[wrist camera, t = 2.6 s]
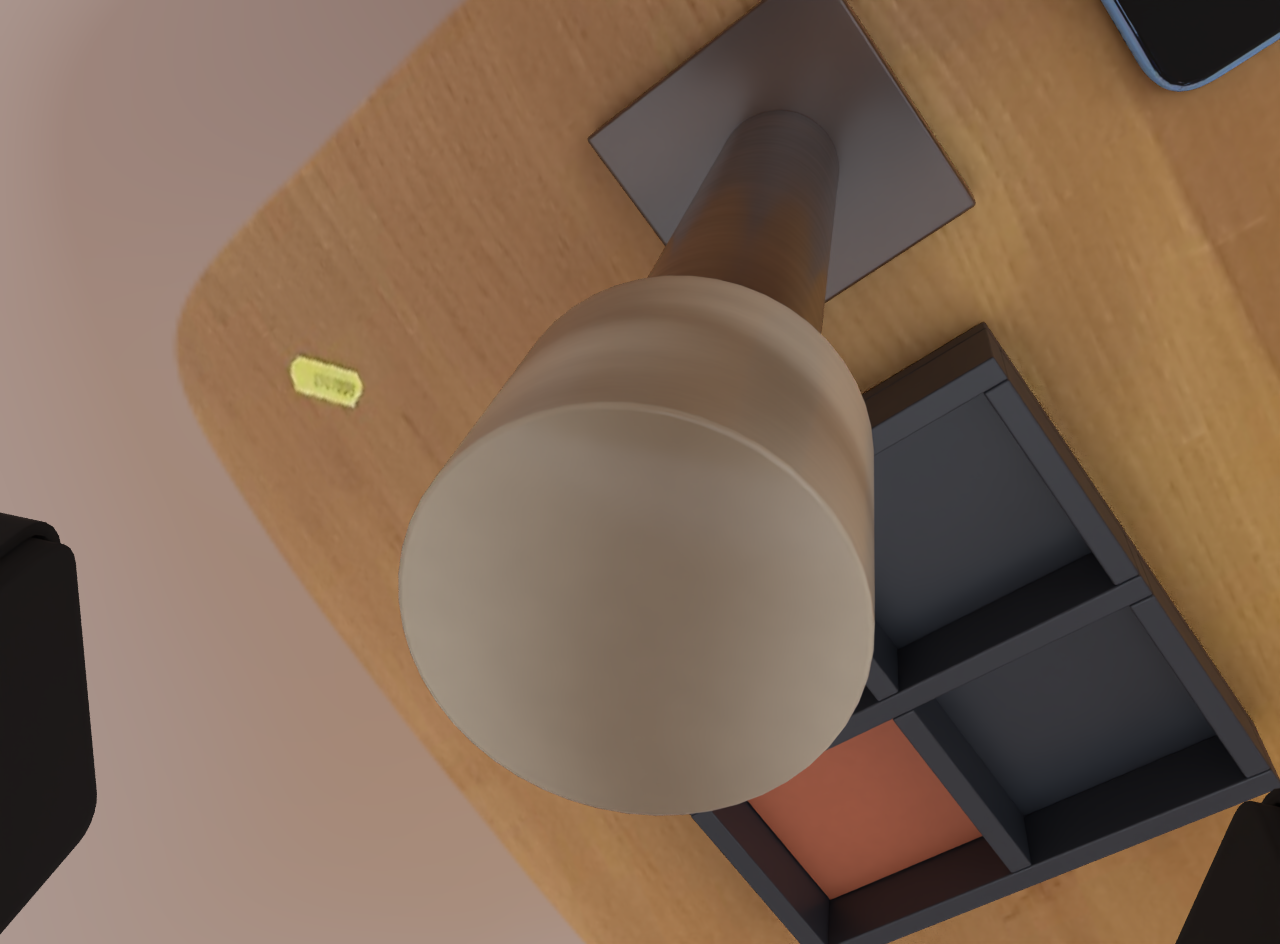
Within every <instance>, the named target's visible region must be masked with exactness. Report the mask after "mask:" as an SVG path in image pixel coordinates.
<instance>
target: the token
mask: <svg viewBox="0 0 1280 944" xmlns="http://www.w3.org/2000/svg"><path fill="white" fill-rule="evenodd" d="M398 574H399V605H400V612H401V618H402V625H403V629H404V633H405V636H406V639H407V643H408V646H409V649H410V653H411V655H412V657H413V660H414V662H415V664H416V666H417V669H418V671H419V673H420V675H421V677H422V679H423V681H424V682H425V684H426V686H427V687H428V689H429V691H430V692H431V694H432V696H433V697H434V699H435V701H436V702H437V703H438V704H439V706H440V707H441V708H442V710H443V711H444V712H445V713H446V715H447V716H448V717H449V719H450V720H451V721H452V722H453V723H454V724H455V725H456V726H457V728H458V729H459V730H460V731H461V732H462V733H463V734H464V735H465V736H466V737H467V738H468V739H469V740H470V741H471V742H472V743H473V744H475V745H476V746H477V747H478V748H479V749H481V750H482V751H483V752H484V753H486V754H487V755H488V756H489V757H490V758H492V759H493V760H494V761H496V762H497V763H499V764H500V765H502V766H503V767H505V768H506V769H508V770H509V771H511V772H512V773H514V774H515V775H517V776H519V777H520V778H522V779H524V780H526V781H528V782H530V783H532V784H534V785H536V786H538V787H540V788H541V789H543V790H546V791H548V792H551V793H553V794H556V795H558V796H561V797H563V798H566V799H568V800H571V801H575V802H578V803H582V804H585V805H589V806H592V807H595V808H600V809H605V810H611V811H616V812H622V813H628V814H641V815H654V816H656V815H685V814H693V813H700V812H708V811H713V810H717V809H721V808H725V807H729V806H733V805H737V804H740V803H742V802H745V801H748V800H750V799H753V798H755V797H758V796H761V795H763V794H765V793H767V792H769V791H771V790H773V789H774V788H776V787H778V786H780V785H782V784H784V783H786V782H787V781H789V780H790V779H792V778H793V777H794V776H796V775H797V774H799V773H800V772H801V771H803V770H804V769H806V768H807V767H808V766H810V765H811V764H812V763H813V762H814V761H815V760H816V759H817V758H818V757H819V756H820V755H821V754H822V753H823V752H824V751H825V750H826V749H827V748H828V747H829V746H830V745H831V744H832V742H833V741H834V740H835V739H836V737H837V736H838V735H839V734H840V732H841V731H842V730H843V728H844V727H845V726H846V724H847V723H848V721H849V719H850V717H851V716H852V714H853V712H854V710H855V708H856V707H857V705H858V703H859V701H860V698H861V696H862V693H863V690H864V688H865V685H866V682H867V679H868V677H869V672H870V667H871V662H872V657H873V652H874V631H875V569H874V447H873V438H872V429H871V424H870V420H869V416H868V412H867V408H866V405H865V402H864V400H863V397H862V395H861V392H860V390H859V388H858V385H857V383H856V381H855V379H854V377H853V376H852V374H851V372H850V371H849V369H848V367H847V366H846V364H845V362H844V361H843V359H842V358H841V357H840V356H839V354H838V353H837V352H836V350H835V349H834V348H833V347H832V345H831V344H830V343H829V342H828V341H827V340H826V339H825V338H824V337H823V336H822V335H821V334H820V333H819V332H818V331H817V330H816V329H815V328H814V327H813V326H812V325H811V324H810V323H808V322H807V321H806V320H804V319H803V318H802V317H800V316H799V315H798V314H796V313H795V312H794V311H792V310H791V309H790V308H788V307H786V306H784V305H783V304H781V303H779V302H777V301H775V300H774V299H772V298H770V297H768V296H766V295H764V294H762V293H759V292H757V291H754V290H752V289H749V288H747V287H744V286H741V285H738V284H734V283H730V282H726V281H722V280H718V279H712V278H705V277H697V276H659V277H652V278H644V279H638V280H634V281H631V282H627V283H623V284H619V285H616V286H613V287H611V288H609V289H606V290H604V291H601V292H599V293H597V294H594V295H592V296H591V297H589V298H587V299H586V300H584V301H582V302H580V303H579V304H577V305H575V306H574V307H572V308H571V309H570V310H568V311H567V312H566V313H565V314H563V315H562V316H561V317H560V318H558V319H557V320H556V321H555V322H554V323H553V324H552V325H551V326H550V327H549V328H548V329H547V330H546V331H545V332H544V333H543V334H542V335H541V337H540V338H539V339H538V340H537V341H536V343H535V344H534V346H533V347H532V348H531V350H530V351H529V352H528V354H527V355H526V356H525V358H524V359H523V360H522V362H521V363H520V364H519V366H518V367H517V368H516V370H515V371H514V372H513V374H512V375H511V377H510V378H509V379H508V381H507V382H506V383H505V385H504V386H503V387H502V389H501V390H500V391H499V393H498V394H497V395H496V397H495V398H494V399H493V401H492V402H491V403H490V405H489V406H488V407H487V409H486V410H485V412H484V413H483V414H482V416H481V417H480V418H479V420H478V421H477V422H476V424H475V425H474V426H473V428H472V429H471V430H470V432H469V433H468V434H467V436H466V437H465V438H464V440H463V441H462V442H461V444H460V445H459V447H458V448H457V449H456V451H455V452H454V453H453V455H452V456H451V457H450V459H449V460H448V461H447V463H446V464H445V465H444V467H443V468H442V469H441V471H440V472H439V473H438V475H437V476H436V478H435V479H434V481H433V482H432V483H431V485H430V486H429V488H428V489H427V491H426V492H425V493H424V495H423V496H422V498H421V500H420V502H419V504H418V506H417V508H416V510H415V512H414V514H413V516H412V518H411V520H410V523H409V526H408V529H407V533H406V536H405V539H404V543H403V546H402V552H401V559H400V566H399V573H398Z"/></svg>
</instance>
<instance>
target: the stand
mask: <svg viewBox="0 0 1280 944" xmlns="http://www.w3.org/2000/svg"><path fill="white" fill-rule="evenodd" d="M588 142H589V144H590V145H591V146H592V148H593V149H594V150H595V152H596V153H597V154H598V156H599V157H600V159H601V160H602V161H603V163H604V164H605V165H606V167H607V168H608V169H609V171H610V172H611V173H612V175H613V176H614V177H615V179H616V180H617V182H618V183H619V184H620V186H621V187H622V188H623V190H624V191H625V192H626V194H627V195H628V196H629V198H630V199H631V200H632V202H633V203H634V205H635V206H636V207H637V209H638V210H639V211H640V213H641V214H642V215H643V217H644V218H645V219H646V221H647V222H648V223H649V225H650V226H651V228H652V229H653V230H654V232H655V233H656V234H657V236H658V237H659V238H660V240H661V241H662V242H663V244H664V245H665V248H664V250H663V252H662V253H661V255H660V257H659V259H658V260H657V262H656V264H655V265H654V267H653V269H652V271H651V272H650V274H649V276H648V278H652V277H659V276H697V277H705V278H712V279H718V280H722V281H726V282H730V283H734V284H738V285H741V286H744V287H747V288H749V289H752V290H754V291H757V292H759V293H762V294H764V295H766V296H768V297H770V298H772V299H774V300H775V301H777V302H779V303H781V304H783V305H784V306H786V307H788V308H790V309H791V310H792V311H794V312H795V313H796V314H798V315H799V316H800V317H802V318H803V319H804V320H806V321H807V322H808V323H810V324H811V325H812V326H813V327H814V328H815V329H816V330H817V331H818V332H819V333H820V334H821V331H822V322H823V313H824V304H825V303H826V302H827V301H829V300H831V299H832V298H834V297H835V296H837V295H838V294H840V293H841V292H843V291H844V290H846V289H848V288H849V287H851V286H852V285H854V284H855V283H857V282H858V281H860V280H861V279H863V278H864V277H866V276H868V275H869V274H871V273H872V272H874V271H875V270H877V269H878V268H880V267H881V266H883V265H885V264H886V263H888V262H889V261H891V260H892V259H894V258H895V257H897V256H898V255H900V254H901V253H903V252H905V251H906V250H908V249H909V248H911V247H912V246H914V245H915V244H917V243H918V242H920V241H922V240H923V239H925V238H926V237H928V236H929V235H931V234H932V233H934V232H935V231H937V230H938V229H940V228H942V227H943V226H945V225H946V224H948V223H949V222H951V221H952V220H954V219H955V218H957V217H959V216H960V215H962V214H963V213H965V212H966V211H968V210H969V209H971V208H972V207H974V206H975V200H974V197H973V194H972V192H971V191H970V189H969V188H968V186H967V185H966V183H965V181H964V180H963V178H962V177H961V175H960V174H959V172H958V171H957V169H956V168H955V166H954V165H953V163H952V162H951V160H950V158H949V157H948V155H947V154H946V152H945V151H944V149H943V148H942V146H941V145H940V143H939V142H938V140H937V138H936V137H935V135H934V134H933V132H932V131H931V129H930V128H929V126H928V125H927V123H926V122H925V120H924V119H923V117H922V115H921V114H920V112H919V111H918V109H917V108H916V106H915V105H914V103H913V102H912V100H911V99H910V97H909V95H908V94H907V92H906V91H905V89H904V88H903V86H902V85H901V83H900V82H899V80H898V79H897V77H896V76H895V74H894V72H893V71H892V69H891V68H890V66H889V65H888V63H887V62H886V60H885V59H884V57H883V56H882V54H881V52H880V51H879V49H878V48H877V46H876V45H875V43H874V42H873V40H872V39H871V37H870V36H869V34H868V33H867V31H866V29H865V28H864V26H863V25H862V23H861V22H860V20H859V19H858V17H857V16H856V14H855V13H854V11H853V9H852V8H851V6H850V5H849V3H848V2H847V0H762V1H761V2H759V3H758V4H757V5H756V6H754V7H753V8H752V9H751V10H749V11H748V12H747V13H745V14H744V15H743V16H742V17H740V18H739V19H738V20H736V21H735V22H734V23H733V24H731V25H730V26H729V27H728V28H726V29H725V30H724V31H722V32H721V33H720V34H719V35H717V36H716V37H715V38H713V39H712V40H711V41H710V42H708V43H707V44H706V45H705V46H703V47H702V48H701V49H699V50H698V51H697V52H696V53H694V54H693V55H692V56H690V57H689V58H688V59H687V60H685V61H684V62H683V63H682V64H680V65H679V66H678V67H676V68H675V69H674V70H673V71H671V72H670V73H669V74H667V75H666V76H665V77H664V78H662V79H661V80H660V81H659V82H657V83H656V84H655V85H653V86H652V87H651V88H650V89H648V90H647V91H646V92H644V93H643V94H642V95H641V96H639V97H638V98H637V99H636V100H634V101H633V102H632V103H630V104H629V105H628V106H627V107H625V108H624V109H623V110H621V111H620V112H619V113H618V114H616V115H615V116H614V117H613V118H611V119H610V120H609V121H607V122H606V123H605V124H604V125H602V126H601V127H600V128H598V129H597V130H596V131H595V132H594V133H592V134H591V135H590V136H589V137H588Z"/></svg>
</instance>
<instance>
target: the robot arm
mask: <svg viewBox="0 0 1280 944" xmlns="http://www.w3.org/2000/svg"><path fill="white" fill-rule="evenodd" d="M96 801H97V790H96V779H95V768H94V758H93V747H92V736H91V724H90V713H89V702H88V691H87V681H86V670H85V660H84V648H83V637H82V626H81V615H80V605H79V593H78V582H77V572H76V562H75V558H74V554H73V552H72V551H71V549H70V548H69V547H68V546H66V545H64V544H61V543H60V539H59V535H58V534H57V532H56V531H55V529H54V527H53V526H51V525H49V524H47V523H46V522H42V521H37V520H32V519H28V518H23V517H18V516H14V515H9V514H4V513H0V934H1V933H2V932H3V930H4V929H5V928H6V927H7V926H8V925H9V923H10V922H11V921H12V920H13V919H14V918H15V916H16V915H17V914H18V913H19V912H20V911H21V909H22V908H23V907H24V906H25V905H26V904H27V902H28V901H29V900H30V899H31V898H32V896H33V895H34V894H35V893H36V892H37V891H38V890H39V888H40V887H41V886H42V885H43V884H44V883H45V881H46V880H47V879H48V878H49V877H50V876H51V874H52V873H53V872H54V871H55V870H56V869H57V867H58V866H59V865H60V864H61V863H62V862H63V860H64V859H65V858H66V857H67V856H68V855H69V853H70V852H71V851H72V850H73V849H74V847H75V846H76V845H77V844H78V843H79V842H80V840H81V839H82V838H83V836H84V835H85V833H86V831H87V829H88V827H89V825H90V823H91V821H92V818H93V815H94V812H95V807H96ZM1175 944H1280V788H1277V789H1273V790H1272V791H1271V792H1270V793H1269V794H1268V795H1266V797H1265V798H1264V800H1263V802H1262V803H1258V802H1254V801H1246V802H1244V803H1243V804H1242V805H1240V806H1239V807H1238V809H1237V811H1236V812H1235V814H1234V816H1233V818H1232V820H1231V823H1230V825H1229V827H1228V829H1227V831H1226V834H1225V836H1224V838H1223V840H1222V842H1221V845H1220V847H1219V849H1218V851H1217V853H1216V856H1215V858H1214V860H1213V862H1212V864H1211V867H1210V869H1209V871H1208V873H1207V875H1206V877H1205V880H1204V882H1203V884H1202V886H1201V888H1200V891H1199V893H1198V895H1197V897H1196V899H1195V902H1194V904H1193V906H1192V908H1191V910H1190V913H1189V915H1188V917H1187V919H1186V921H1185V924H1184V926H1183V928H1182V930H1181V932H1180V935H1179V937H1178V939H1177V941H1176V943H1175Z"/></svg>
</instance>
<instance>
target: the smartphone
mask: <svg viewBox="0 0 1280 944" xmlns="http://www.w3.org/2000/svg"><path fill="white" fill-rule="evenodd" d="M1101 2H1102V3H1103V5H1104V7H1105V8H1106V10H1107V12H1108V13H1109V15H1110V17H1111V19H1112V20H1113V22H1114V24H1115V25H1116V27H1117V29H1118V30H1119V32H1120V34H1121V35H1122V37H1123V39H1124V41H1125V42H1126V44H1127V46H1128V47H1129V49H1130V51H1131V52H1132V54H1133V56H1134V58H1135V59H1136V61H1137V63H1138V64H1139V66H1140V67H1141V68H1142V70H1143V71H1144V72H1145V74H1146V75H1147V76H1148V77H1149V78H1150V79H1151V80H1152V81H1154V82H1155V83H1156V84H1158V85H1159V86H1161V87H1163V88H1165V89H1167V90H1171V91H1177V92H1179V91H1189V90H1192V89H1196V88H1199V87H1201V86H1203V85H1206V84H1208V83H1210V82H1212V81H1213V80H1215V79H1217V78H1219V77H1220V76H1222V75H1223V74H1225V73H1227V72H1228V71H1230V70H1231V69H1233V68H1234V67H1236V66H1238V65H1239V64H1241V63H1242V62H1244V61H1245V60H1247V59H1249V58H1250V57H1252V56H1253V55H1255V54H1256V53H1258V52H1260V51H1261V50H1263V49H1264V48H1266V47H1267V46H1269V45H1271V44H1272V43H1274V42H1275V41H1277V40H1278V39H1280V0H1101Z"/></svg>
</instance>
